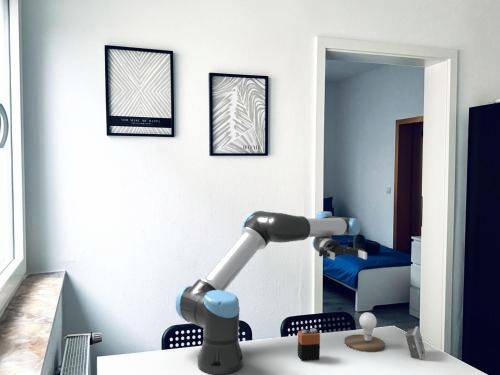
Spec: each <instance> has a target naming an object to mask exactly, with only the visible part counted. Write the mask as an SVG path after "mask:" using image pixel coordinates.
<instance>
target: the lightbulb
mask: <svg viewBox="0 0 500 375" xmlns="http://www.w3.org/2000/svg"><path fill="white" fill-rule="evenodd" d="M358 321H359V324H360V328H362V332H363V335H364V340H366V341H371V336H372V334H373V330H374V329H375V327H376V326H377V317H376V316H375V315H374V314H373V313H372V312H364V313H361V315H360V317H359V320H358Z"/></svg>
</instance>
